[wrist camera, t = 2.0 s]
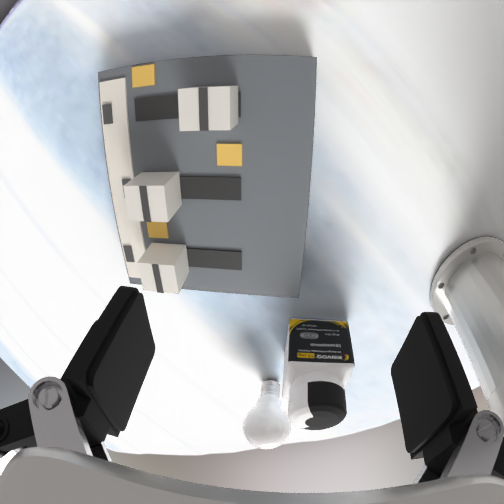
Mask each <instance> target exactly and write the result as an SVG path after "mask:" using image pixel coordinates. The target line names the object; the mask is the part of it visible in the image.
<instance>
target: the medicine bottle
mask: <svg viewBox="0 0 504 504" xmlns="http://www.w3.org/2000/svg"><path fill="white" fill-rule="evenodd" d="M354 366H355V364H354V357H353V350H352V344H351V338H350V332H349V326H348V322H347V321H335V320H315V319H298V318H291V319H290V320H289V325H288V333H287V340H286V348H285V355H284V373H283V390H282V397H283V398H284V399H289V405H288V419H289V420H290V422H291V423H292V424H293V425H295V426H297V427H299V428H302V429H308V430H321V429H326V428H330V427H333V426H335V425H337V424H339V423H340V422H341V421H342V420H343V419H344V418H345V416H346V414H347V411H346V399H345V388H346V386H347V384H348V381H349V379H350V376H351V374H352V371H353V369H354Z"/></svg>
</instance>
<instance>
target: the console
mask: <svg viewBox="0 0 504 504" xmlns="http://www.w3.org/2000/svg"><path fill="white" fill-rule="evenodd" d="M316 67H317V57H305V56H289V55H220V56H204V57H191V58H181V59H172V60H163V61H156V62H149V63H143V64H137V65H131V66H125V67H120V68H115V69H110V70H106V71H101V72H98V79H99V97H100V110H101V121H102V131H103V140H104V149H105V157H106V164H107V171H108V178H109V184H110V190H111V196H112V202H113V207H114V213H115V218H116V223H117V228H118V233H119V238H120V242H121V247H122V251H123V256H124V260H125V264H126V268H127V272H128V276H129V280H130V283H132V284H141V285H142V282H141V277H140V273H139V269H138V264H137V262H138V261H139V259H140V258H141V257H142V255H143V254H144V252H145V251H146V250H147V248H148V247H149V246H150V244H151V243H166V244H183V245H186V249H187V257H188V266H189V273H188V275H187V277H186V279H185V282H184V284H183V286H182V288H181V289H189V290H200V291H211V292H223V293H235V294H248V295H262V296H277V297H292V298H299V290H300V282H301V273H302V265H303V255H304V246H305V236H306V226H307V215H308V204H309V192H310V180H311V166H312V152H313V136H314V118H315V96H316ZM207 86H238V124H237V125H236V126H235V127H234V128H232V129H231V130H209V131H180V129H179V107H178V89H182V88H191V87H207ZM141 172H179V177H180V189H181V200H182V205H181V206H180V208H179V209H178V210H177V212H176V213H175V214H174V215H173V217H172V218H171V219H170V221H169V222H144V221H129V219H128V213H127V207H126V201H125V195H124V188H123V186H124V185H125V184H127V183H128V182H129V181H130V180H132V179H133V178H135V177H136V176H137V175H139V174H140V173H141Z"/></svg>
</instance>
